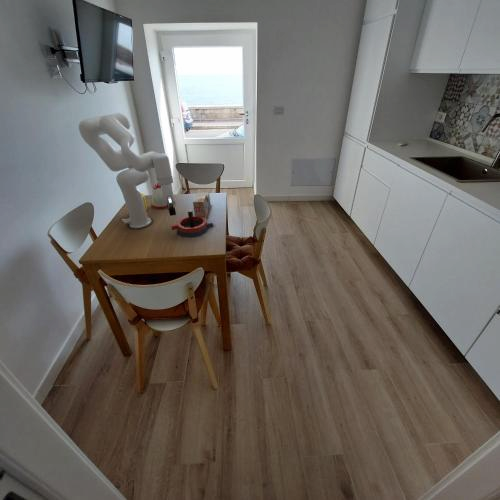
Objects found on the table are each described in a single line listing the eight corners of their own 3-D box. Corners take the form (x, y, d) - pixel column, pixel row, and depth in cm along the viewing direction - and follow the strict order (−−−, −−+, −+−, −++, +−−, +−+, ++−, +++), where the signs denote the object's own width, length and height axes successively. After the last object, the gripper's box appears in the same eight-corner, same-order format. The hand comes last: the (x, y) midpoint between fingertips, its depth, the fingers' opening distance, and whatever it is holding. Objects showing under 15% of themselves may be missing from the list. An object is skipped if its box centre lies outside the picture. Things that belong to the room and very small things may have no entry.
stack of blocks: (201, 205, 181) (199, 187, 174) (210, 205, 181) (208, 187, 174) (195, 220, 163) (192, 201, 156) (205, 220, 163) (203, 201, 156)
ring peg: (187, 234, 150) (183, 215, 143) (184, 227, 156) (181, 209, 150) (201, 231, 152) (198, 212, 146) (198, 225, 158) (196, 206, 152)
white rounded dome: (170, 208, 177) (165, 186, 169) (149, 208, 178) (143, 187, 170) (175, 200, 189) (171, 179, 181) (156, 200, 190) (151, 179, 181)
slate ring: (209, 219, 163) (209, 216, 162) (215, 232, 151) (215, 228, 150) (177, 225, 158) (176, 222, 157) (180, 238, 146) (180, 235, 144)
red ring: (173, 236, 143) (172, 232, 142) (170, 223, 156) (169, 219, 155) (209, 229, 149) (208, 225, 147) (203, 217, 161) (202, 213, 160)
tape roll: (148, 206, 182) (145, 192, 177) (146, 212, 174) (142, 198, 168) (133, 207, 181) (129, 194, 175) (130, 214, 172) (126, 200, 167)
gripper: (156, 176, 140) (163, 206, 150) (158, 186, 127) (166, 219, 136) (170, 173, 142) (177, 204, 152) (174, 184, 129) (181, 216, 138)
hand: (171, 211), depth 144 cm, fingers open, 9 cm apart
